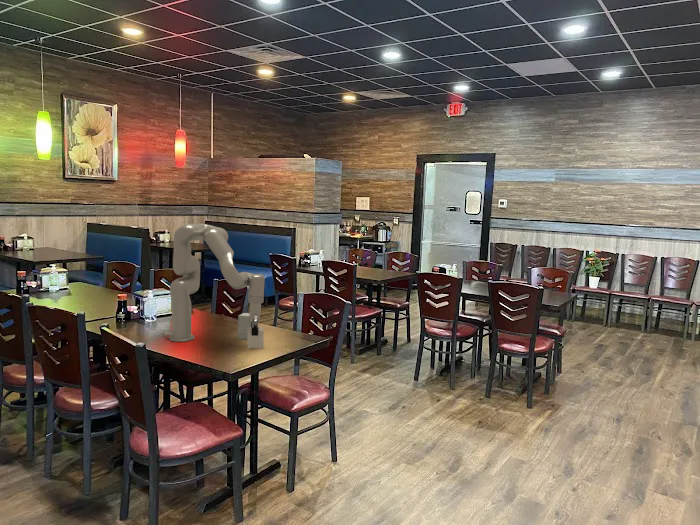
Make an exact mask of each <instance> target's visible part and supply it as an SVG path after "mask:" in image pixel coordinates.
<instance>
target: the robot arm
mask: <svg viewBox="0 0 700 525" xmlns="http://www.w3.org/2000/svg"><path fill="white" fill-rule="evenodd" d="M193 241H205V243H206V244H207V245H208V247H209V249H210V250H211V252H212V253H213V254H214V256H215V257H216V259H217V260H218V262H219V268H220V272H221V274H222V276H223V278H224V279H225V281H226V282H227V284H228V285H229V286H230V287H231V288H232V289H234V290H240V289H241V290H242V289H243V288H247V287H248V295H247V296H248V299H247V300H248V301H247V302H248V303H249V322H250V323H251V322H252V323H251V327H252V334H251V335H252V336H258V327H259V323H260V320H261V311H262V304H263V303H264V300H265V299H264V297H265V283H266V282H265V278H266V277H265V275H264V274H261V273H252V272H247V271H241V272H239V271H238V270H237V269H236V267H235V265H234V261H233V258H234V254H235V253H234V250H233V249H232V247H231V246H230V245H229V243H228V241H229V234H228V232H227V231H226V230H225V229H224V228H222V227H218V226H214V225H211V224H206V223H187V224H183V225H181V226H180V227H178V228H177V229H176V230H175V232H174V234H173V259H172V260H173V262H172V264H173V265H172V267H173V268H172V269H173V272H174V273H175V274H176V275H177V276H182V277H178V278H176V279H175V280H173V281H172V282H171V284H170V286H169V292H170V297H171V330H169V331H167V330H165V331H162V335H163V336H166V337H167V336H169V337H168V340H169V341H171V342H177V343H178V342H179V343H181V342H183V343H184V342H190V341H193V340H194V339H195V335H193V334H192V301H191V297H190V295H193V294H196V292H198V291H199V288H200V285H201V284H200V282H201V263H200V260H199V259H198V257H196V256H195V255H192V245H191V242H193Z"/></svg>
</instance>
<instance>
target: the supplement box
mask: <svg viewBox="0 0 700 525" xmlns="http://www.w3.org/2000/svg"><path fill="white" fill-rule="evenodd" d="M249 313H250V312H249ZM249 313H248V312H243V313H241V314H239V315H238V316H237V318H238V319H237V322H238V324H237V339H238V340H245V341H246V340H247V327H251V323H252V322H251V323H250V322H249Z"/></svg>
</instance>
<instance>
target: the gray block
mask: <svg viewBox="0 0 700 525" xmlns="http://www.w3.org/2000/svg"><path fill="white" fill-rule="evenodd" d="M264 333H265V330H264V327H262V326H258V336H252V335H251V334H252V327H247V341H246V342H247V343H246V344H247V345H246V348H247V350H250V349H251V348H253V350H255V349H254V348H258V349H264V343H265V342H264V341H265V340H264V339H265V338H264V335H265V334H264Z"/></svg>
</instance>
